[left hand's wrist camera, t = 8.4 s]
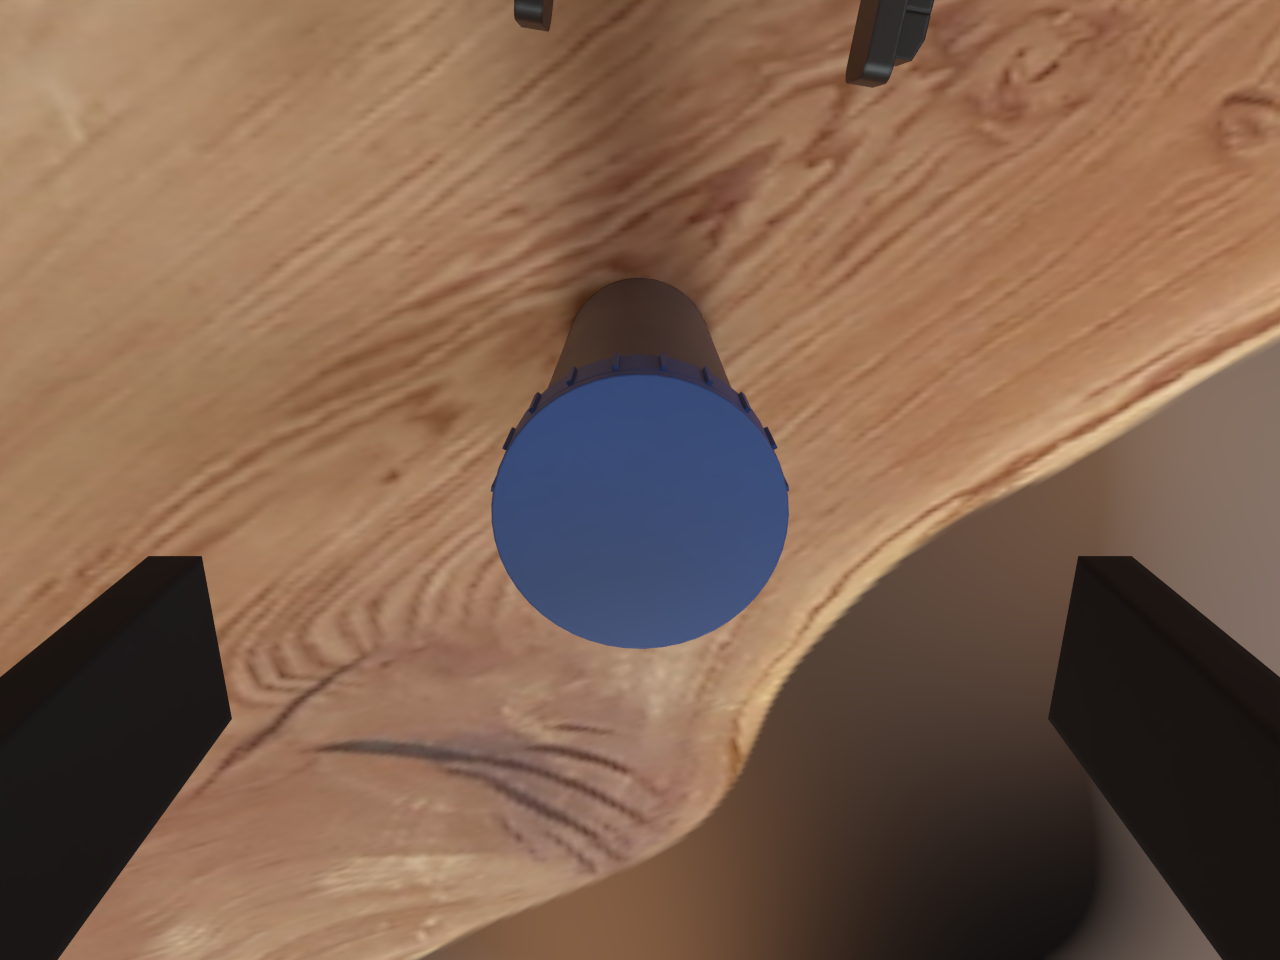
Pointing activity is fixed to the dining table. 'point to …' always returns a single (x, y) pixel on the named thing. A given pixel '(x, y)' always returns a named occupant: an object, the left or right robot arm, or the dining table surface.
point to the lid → (640, 502)
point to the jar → (639, 328)
